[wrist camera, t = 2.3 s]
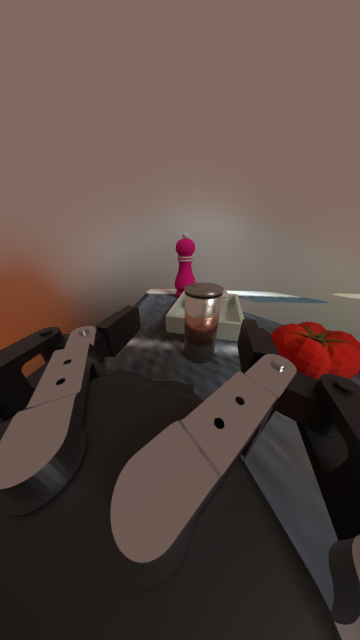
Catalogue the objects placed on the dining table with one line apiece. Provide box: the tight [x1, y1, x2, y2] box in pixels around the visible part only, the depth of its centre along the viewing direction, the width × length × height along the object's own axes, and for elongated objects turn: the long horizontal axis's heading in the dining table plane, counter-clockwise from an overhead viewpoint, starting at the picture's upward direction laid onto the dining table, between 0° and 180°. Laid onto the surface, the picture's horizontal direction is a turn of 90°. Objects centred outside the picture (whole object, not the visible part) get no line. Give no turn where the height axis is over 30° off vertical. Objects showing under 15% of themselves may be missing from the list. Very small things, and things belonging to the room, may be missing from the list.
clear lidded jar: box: [184, 283, 223, 363], centre depth 24 cm, size 6×6×12 cm
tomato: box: [270, 322, 360, 380], centre depth 23 cm, size 10×11×6 cm
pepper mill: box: [175, 233, 195, 298], centre depth 49 cm, size 7×7×20 cm
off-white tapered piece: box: [220, 291, 228, 314], centre depth 41 cm, size 10×6×5 cm, turn 76°
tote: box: [165, 291, 244, 342], centre depth 38 cm, size 16×18×4 cm
